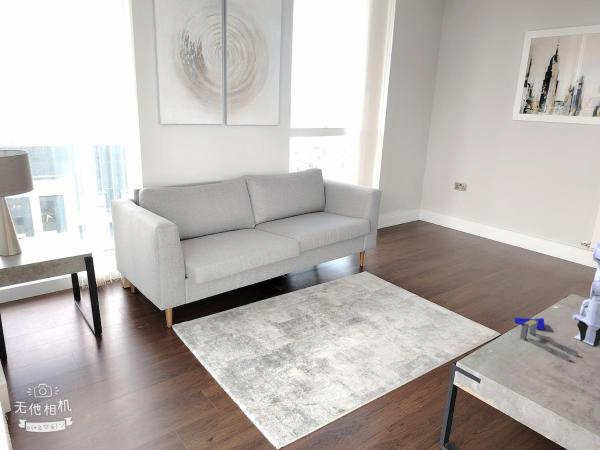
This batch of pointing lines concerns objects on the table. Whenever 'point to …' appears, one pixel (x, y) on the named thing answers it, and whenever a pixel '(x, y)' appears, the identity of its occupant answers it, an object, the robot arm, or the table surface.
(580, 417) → the table surface
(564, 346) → the guide channel
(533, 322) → the bracket
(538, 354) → the table surface
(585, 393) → the table surface
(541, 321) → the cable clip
